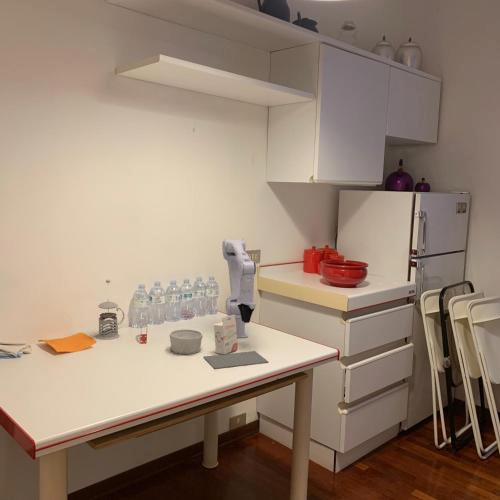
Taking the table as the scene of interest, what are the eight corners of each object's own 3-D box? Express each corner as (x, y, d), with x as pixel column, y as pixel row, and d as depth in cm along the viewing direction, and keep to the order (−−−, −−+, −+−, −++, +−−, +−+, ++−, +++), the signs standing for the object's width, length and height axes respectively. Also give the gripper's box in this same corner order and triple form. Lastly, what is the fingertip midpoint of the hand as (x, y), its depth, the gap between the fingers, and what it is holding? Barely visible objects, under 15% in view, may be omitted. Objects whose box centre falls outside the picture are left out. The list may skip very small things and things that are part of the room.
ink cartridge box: (228, 347, 209) (226, 312, 208) (237, 349, 206) (236, 313, 205) (214, 353, 203) (213, 316, 202) (224, 354, 200) (222, 317, 199)
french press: (94, 334, 221) (94, 278, 218) (121, 331, 226) (121, 276, 223) (98, 340, 212) (97, 282, 209) (126, 338, 217) (126, 281, 214)
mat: (203, 357, 197) (203, 356, 197) (254, 351, 206) (254, 350, 206) (214, 369, 185) (214, 368, 185) (268, 362, 194) (268, 361, 194)
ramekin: (204, 346, 211) (205, 330, 210) (198, 356, 198) (199, 339, 197) (173, 344, 212) (174, 328, 211) (165, 354, 199) (165, 337, 198)
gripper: (231, 287, 215) (230, 318, 216) (244, 293, 201) (243, 327, 203) (246, 286, 217) (245, 317, 219) (260, 292, 204) (259, 325, 206)
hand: (245, 322), depth 211 cm, fingers closed
